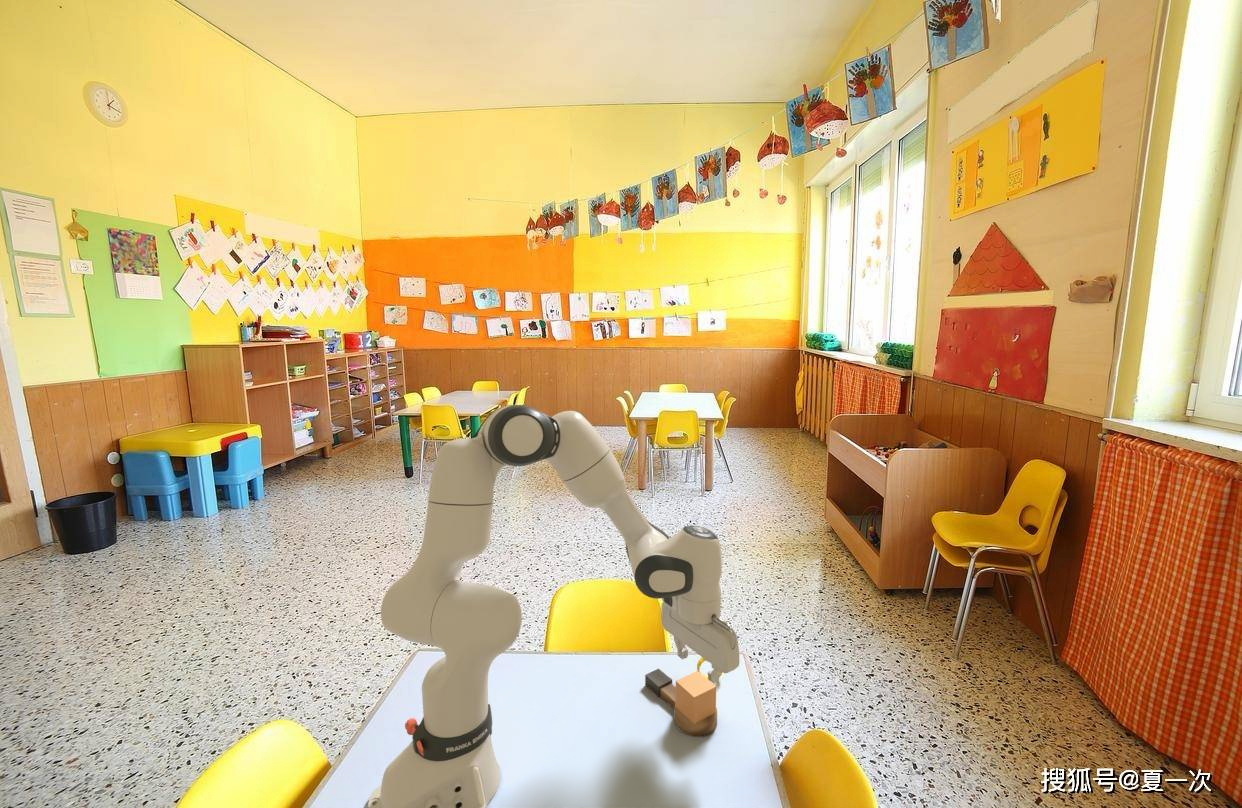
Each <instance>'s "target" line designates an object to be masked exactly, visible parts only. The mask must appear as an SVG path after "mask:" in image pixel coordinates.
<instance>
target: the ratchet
mask: <svg viewBox="0 0 1242 808" xmlns="http://www.w3.org/2000/svg"><path fill="white" fill-rule="evenodd" d="M644 676H645V677H644V681H645V683H644V685H645V686H646V687H647V688H648V689H649V690H650V691H651V692H653V694H655V695H656V696H657V697H658V698H659V697H660V698H661V699H662V700H663V701H664V702H665V703H667V705H669V706H670V707H671V708H672V709H674V719H673V721H674V723H675V726H676V727H677V729H678V730H680V732H682V733H683V734H685V735H687V736H691V737H698V738H699V737H706V736H710V735H711V734H712V733H713V732H714V731H715V730H716V729H717V725H718V708H717V707H716V713H714V714H712V715H710V716H708V717H706V718H705V719H703V720H701V721H699V722H697V723H695V724H693V723H692V722H691V721H690V720H689V719H688V718H687V717H686V716H685V715H684V714H683V713H682V712H681V711H680V710H679V709H678V708H676V707H675V700H676V685H674V684H673V679H672V678H670V676H668V675H667V674H666V673H665V672H663V670H661V669H660V668H657V669H655V670H653V671H650V672H648V673H646V674H645V675H644Z"/></svg>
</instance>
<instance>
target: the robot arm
mask: <svg viewBox="0 0 1242 808" xmlns="http://www.w3.org/2000/svg"><path fill="white" fill-rule="evenodd" d="M543 460H545V461H546V462H547V463H548V464H549V465H550V466H551V467H553V470H555V471H556V474H557V475H558V477H559V478H560V479H561V481H562V482H563V484H564V486H565V487H566V488H567V489H568V491H569V492H570V493H571V495H572V496H574V498H576V500H577V501H579V503H580V504H581V505H582V506H584V507H588V508H593V509H594V508H595V509H597V508H598V509H600V510H602V511H603V512H604V513H605V515H606V516H607V517H608V519H609V520H610V521H611V522H612V524H613V525H614V527H615V528H616V530H617V531H618V532H619V534H620V535H621V536H622V538H623V540H624V543H625V551H626V555H627V558H628V561H629V563H630V567H631V571H632V575H633V579H634V582H635V585H636V587H637V589H638V590H639V592H640V593H642V594H643V595H644V596H646V597H648V598H651V599H661V601H662V603H661V609H660V610H661V611H660V615H661V616H660V621H661V625H662V627H663V629H664V631H665V632H667V633H669V634H670V635H672V636H673V641H674V644H675V647H676V651H677V657H678V658H680V659H681V660H685V659H687V658H688V657H689V649H691V650H692V651H693V652H694V653H696V654H697V655H699V656H700V657H701V658H702V657H703V658H704V659H705V660H707V661H706V662H707V663H710V664H711V668H712V670H710V671H708V672H707V676H708V680H709V681H710V682H712V683H713V684H714V685H715V684H717V683H718V682H719V681H720V677H719V673H720V672H721V671H722V674H728V673H731V672H733V671H735V670H736V669H737V668H738V667H740V647H739V641H738V639H739V638H738V634H737V633H736V632H735V630H734V629H733V627H732V625H731V624H730V623H729V622H727V621H725V620H724V619H722V618H721V615H722V614H721V612H722V611H721V610H722V609H721V608H722V589H721V584H720V582H721V581H720V580H721V577H722V573H723V571H722V570H723V569H722V567H723V566H722V547H721V542H720V538H719V537H718V536H717V535H716V534H715V533H714V532H713V531H712V530H710V529H708V528H705V527H704V526H699V525H685V526H684V527H682V528H681V529H680V530H679V532H677V533H675V534H674V535H672V536H671V537H670V536H668V534H667V533H666V532H665V531H664V530H662V529H660V528H659V527H658V526H655V524H653V523H651V522H650V521H648V519H647V518H646V517H645V516H644V514H643V512H642V511H641V509H640V508H639V507H638V506H637V504H636V503H635V501H634V500H633V498H632V497H631V495H630V494H629V491H628V488H627V486H626V484H627V483H626V479H625V475H624V473H623V471H622V468H621V466H620V464H619V462H618V460H617V458H616V457H615V455H614V453H613V451H612V450H611V448H610V446H608V444H607V442H606V440H604V438H603V437H602V435H600V433H599V432H598V430H597V429H596V428H595V427H594V426H593V425H592V424H591V423H590V421H589V420H587V418H585V416H584V415H583V414H581V413H580V412H578V411H576V410H564V411H561V412H558V413H556V414H554V415H552V416H550V415H547V414H546V413H544V412H542V411H541V410H538V409H536V408H534V407H531V406H529V405H524V404H508V405H507V404H506V405H504V406H501V407H499V408H497V409H495V410H494V411H492V412H491V413H490V414H489V415H487V417H486V418H485V419H484V420H483V422H482V423H481V425H480V427H478V430H477V431H476V432H475V433H474V435H473V437H472V438H471V437H470V438H468V437H467V438H466V437H465V438H463V437H462V438H455V439H453V440H450V441H448V442H446V443H444V444H443V445H442V446H441V447H440V448H439V450H438V453H437V455H436V459H435V462H434V466H433V469H432V474H431V478H430V485H429V491H428V498H427V510H426V517H425V525H424V531H423V539H422V543H421V546H420V547H421V548H420V549H419V553H418V555H417V558H416V559H415V561H414V562H413V564H412V566H411V568H409V570H408V571H407V572H406V573H405V574H404V575H403V576H402V577H400V578H399V579H397V580H396V581H394V583H393V584H391V586H390V587H389V588H388V590H386V593H385V594H384V597H383V599H382V603H381V605H380V618H381V623H382V626H383V627H384V629H386V631H388V632H390V633H392V634H393V635H394V636H395V635H396V636H397V637H399V638H401V639H403V640H406V641H408V642H413V643H416V644H417V643H418V644H420V645H421V644H422V645H427V646H432V647H437V648H439V649H442V651H443V652H444V655H445V656H444V657H442V658H439V660H437V661H436V662H435V663H433V664H432V665H431V667H429V669H428V670H427V671H426V673H425V676H424V678H423V680H422V684H421V695H422V696H421V697H422V698H421V700H422V712H423V713H422V714H423V716H422V720H421V721H420V723H419V724H418V721H417V719H416V718H413V717H410V718H409V719H407V720H406V722H405V723H404V728H405V730H406V733H407V734H408V735H409V736H411V737H412V739H411V740H412V741H410V743H409V744H408V745H407V746H406V747H405V748H404V749H403V750H402V751H401V752H400V754H398V755H397V756H396V757H395V758H394V759H393V760H392V761H391V762H390V763H389V764H388V765H387V767H386V768H385V771H384V772H383V775H382V778H381V779H382V780H381V785H379V786H378V787H377V788H376V789H374V790H373V791H372V793H371V795H370V796H369V800H368V801H367V802H368V803H367V808H486V807H488V805H489V803H490V802H491V800H492V799H493V798H494V796H495V795H496V793H497V790H499V787H500V783H501V779H502V778H501V777H502V775H501V774H502V773H501V769H500V766H499V764H498V761H497V758H496V755H495V751H494V747H493V741H492V734H493V716H492V714H493V713H492V709H491V708H492V707H491V704H489V693H488V692H489V690H488V689H489V688H488V687H489V672H490V668H491V665H492V664H493V661H494V660H495V659H496V658H497V657H498V656H499V655H502V654H503V653H505V652H506V651H508V649H510V648H511V646H512V645H513V644H514V643H515V641H516V640H517V638H518V636H519V634H520V631H521V627H522V623H523V612H522V607H521V604H520V602H519V599H518V598H517V596H515V595H514V594H512V593H509V592H507V591H505V590H503V589H500V588H498V587H496V586H494V585H487V584H483V583H475V582H474V583H473V582H469V581H463V580H461V572H462V569H463V566H464V564H465V563H466V562H468V561H470V560H473V559H475V558H477V557H478V556H479V555H481V554H483V553H484V551H485V550H486V548H487V547H488V546H489V543H490V541H491V531H492V518H493V517H492V516H493V503H494V491H495V490H494V488H495V483H496V479H497V476H498V474H499V472H500V471H501V470H502V469H503V468H504V466H509V467H510V466H511V467H526V466H530V465H532V464H535V463H538V462H540V461H543ZM687 647H688V648H689V649H688V648H687Z"/></svg>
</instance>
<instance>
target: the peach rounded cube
mask: <svg viewBox="0 0 1242 808" xmlns="http://www.w3.org/2000/svg"><path fill="white" fill-rule="evenodd" d="M702 674H703V673H699V672H698V671H697V670H696V671H694V672H692V673H689V674H687V675H684V676H683V677H680V678H678V679H676V680H675V687H676V700H675V707H676V708H678V709H679V710H680V711H681V712H682V713H683V714H684V715H685V716H686V717H687V718H688V719H689V720H690V721H691V722H692V723H693V724H695V723H697V722H699V721H701V720H703V719H705V718H706V717H708V716H710V715H712V714H714V713H716V708H717V686H716V685H715V683H714V684H713V683H712V682H711V681H709V680H708V679H707V678H705V677H704V676H703V675H704V674H703V675H702Z"/></svg>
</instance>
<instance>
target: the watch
mask: <svg viewBox="0 0 1242 808" xmlns="http://www.w3.org/2000/svg"><path fill="white" fill-rule="evenodd" d="M704 662H708V661H707V660H705V659H704V658H703V657H701V658H699V660H698V661H697V664H696V669H697V670H696V671H698V672H699V673H701V670H700V667H701V665H702V664H703V663H704ZM701 674H702V675H703V676H704V677H705V678H707V679H708V675H704V674H703V673H701ZM722 675H723V672H722V671H721V672H720V673H719V678H720V677H721V676H722Z"/></svg>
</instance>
